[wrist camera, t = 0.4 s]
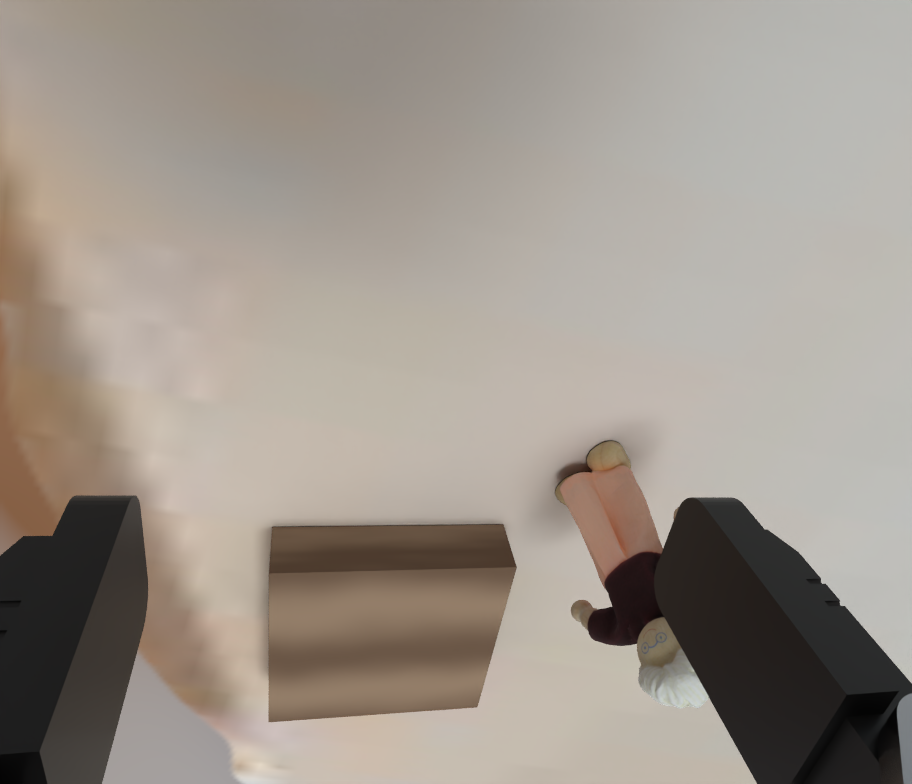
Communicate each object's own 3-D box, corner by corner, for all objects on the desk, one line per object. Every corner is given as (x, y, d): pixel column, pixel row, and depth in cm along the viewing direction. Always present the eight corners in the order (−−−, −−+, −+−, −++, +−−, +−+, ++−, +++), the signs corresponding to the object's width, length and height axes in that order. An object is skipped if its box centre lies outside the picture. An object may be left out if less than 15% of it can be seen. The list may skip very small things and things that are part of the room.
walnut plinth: (272, 527, 34) (269, 573, 32) (503, 524, 37) (516, 567, 34) (271, 674, 41) (268, 722, 38) (468, 663, 43) (477, 707, 41)
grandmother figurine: (597, 416, 34) (721, 633, 23) (656, 437, 35) (798, 651, 25) (519, 524, 37) (598, 756, 27) (577, 539, 38) (672, 765, 28)
